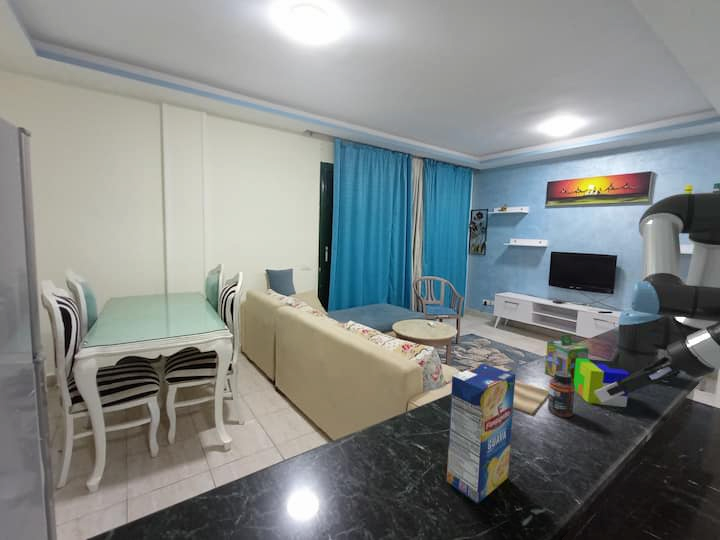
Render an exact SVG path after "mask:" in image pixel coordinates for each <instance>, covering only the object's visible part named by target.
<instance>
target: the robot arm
mask: <svg viewBox="0 0 720 540" xmlns="http://www.w3.org/2000/svg"><path fill="white" fill-rule="evenodd" d="M638 233H639V235H640V236H641V237H642V259H641V260H642V263H641V267H642V268H641V280H640V281H639V280H638V281H634V282H633V284H632V287H631V292H630V293H631V294H630V295H631V296H630V308H631V309H625V310H623V311H621V312H620V314H619V320H618V324H617V325H618V329H617V330H618V331H617V337H616V347H615V349H614V351H613V353H612V355H611V357H610V358H609V360H608V361H612V362H613V363H614V364H616V365H617V366H619V367H620V368H622V369H623V370H624V371H626V372H627V373H629V374H630V375H628V376H627V377H626V378H623V379H622V380H621V381H620V380H619V379H616V380H615V381H616V382H615V383H612V384H610V385H608V386H606V387H603V388H601V389H599V390H596V391H595V392H594V393H595V394H596V396H597V397H598V398H599V400H600V401H601V402H604V401H607V400H609V399H612V398H614V397H616V396H619V395H621V394H624V393H625V394H630V393H633V392H634V393H635V391H637V390H640V389H642V388H645V387H648V386H650V385H653V384H656V383H661V382H663V381H665V380H671V379H673V378H676V377H678V376H679V374H681V371H682V372H684V373H685V374H686V375H688V376H690V377H691V378H694V379H697V378H701V377H704V376H705V375H709V374H712V373H713V372H715V370H716V369H717V370H720V191H719V192H718V191H716V192H702V193H700V192H699V193H679V194H674V195H670V196H667V197H664V198H662V199H661V200H658V201H656V202H655V203H654V204H652V205H651V206H649V207H648V208H647V209H646V210H645V211H644V213H643V214H642V215H641V217H640V219H639V222H638ZM681 234H683V235H685V234H688V240H689V241H691V242H692V243H693V248H692V249H693V250H692V253H691V259H690V263H689V269H688V272H687V273H688V274H687V277H686V282H685V284H686V285H683V283H684V275H683V266H682V265H683V264H682V253H681V244H680V235H681ZM668 316H673V317H668ZM660 350H662V351H663V350H664V351H666V352H667V355H668V356H669V357H670V358H669V357H666V356H664V357H661V358H659V354H660Z"/></svg>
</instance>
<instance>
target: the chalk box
mask: <svg viewBox="0 0 720 540" xmlns="http://www.w3.org/2000/svg"><path fill="white" fill-rule="evenodd" d="M566 339H568V340H566ZM545 357H546V358H545V367H544V374H547V375H548V374H549V376H551V377H553V378H554V373H555V372H556V371H563V372H567V373H569V374H570V375H571V382H573V383H574V375H575V365H576V358H579V359H589V348H588V347H585V346H582V345H581V344H578V343H576V342H573V341H572V336H571V334H570V333H569V334H562V335H561V336H560V340H555V341H547V343H546V354H545Z"/></svg>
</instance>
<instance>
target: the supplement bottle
mask: <svg viewBox="0 0 720 540" xmlns="http://www.w3.org/2000/svg"><path fill="white" fill-rule="evenodd" d="M548 391H549V396H548V402H547V409H548V411H549V412H550V413H551V414H553V415H554V416H557V417H561V418H570V417H572V416H573V413H574V402H575V399H574V398H575V391H576V390H575V386H574V382H571V375H570V374H569V373H567V372H563V371H556V372H555V373H554V377H553V378H550V381H549V389H548Z"/></svg>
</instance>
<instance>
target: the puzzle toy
mask: <svg viewBox="0 0 720 540" xmlns="http://www.w3.org/2000/svg"><path fill="white" fill-rule="evenodd" d="M628 375H630V374H629V373H627V372H626V371H624V370H623V369H622V368H620V367H619V366H617V365H616V364H614V363H613V362H612V361H609V360H602V359H601V360H600V359H590V358H588V359H579V358H576V365H575V375H574V382H573V384H574V386H575V389H576V390H575V391H576V392H577V393H578V394H579V396H580V397H582V398H583V400H584V401H587V402H588V403H587V402H586V403H587V404H593V403H595V405H596V404H597V405H603V406H604V405H605V406H613V407H623V408H626V407H627V403H628V394H629V393H628V394H625V393H624V394H621V395H619V396H616V397H614V398H612V399H609V400H607V401H604V402H601V401H600V400H599V398H598V397H597V396H596V394H595V393H594V392H595V391H596V390H599V389H601V388H603V387H606V386H608V385H610V384H612V383H615V382H616V381H615V380H616V379H619V380H620V381H621V380H622V379H623V378H626V377H627V376H628Z"/></svg>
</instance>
